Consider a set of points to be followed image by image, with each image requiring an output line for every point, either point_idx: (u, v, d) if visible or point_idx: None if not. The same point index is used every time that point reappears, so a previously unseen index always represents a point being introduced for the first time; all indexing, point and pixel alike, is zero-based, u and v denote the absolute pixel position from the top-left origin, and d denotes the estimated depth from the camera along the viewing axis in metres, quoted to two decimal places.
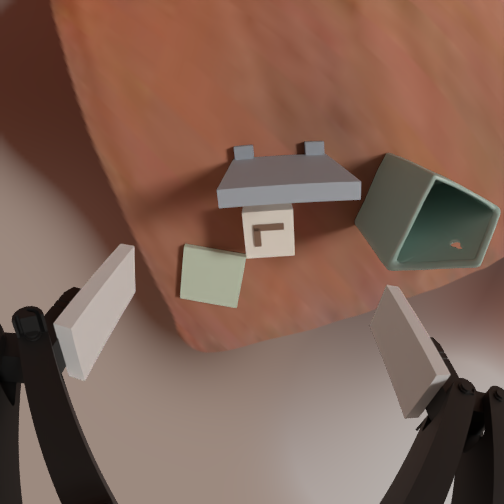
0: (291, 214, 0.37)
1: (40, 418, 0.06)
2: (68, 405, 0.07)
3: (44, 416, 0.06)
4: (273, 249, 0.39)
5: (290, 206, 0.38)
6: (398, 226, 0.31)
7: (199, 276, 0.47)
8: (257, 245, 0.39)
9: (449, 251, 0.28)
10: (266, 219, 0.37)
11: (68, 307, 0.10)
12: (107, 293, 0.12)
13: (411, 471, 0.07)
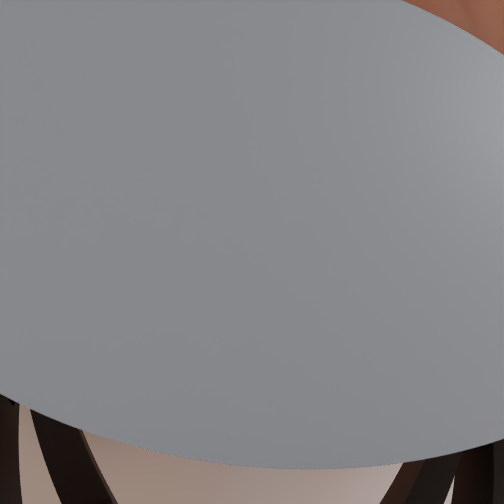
0: None
1: (40, 418, 0.06)
2: None
3: (44, 416, 0.06)
4: None
5: None
6: None
7: None
8: None
9: None
10: None
11: None
12: None
13: (411, 471, 0.07)
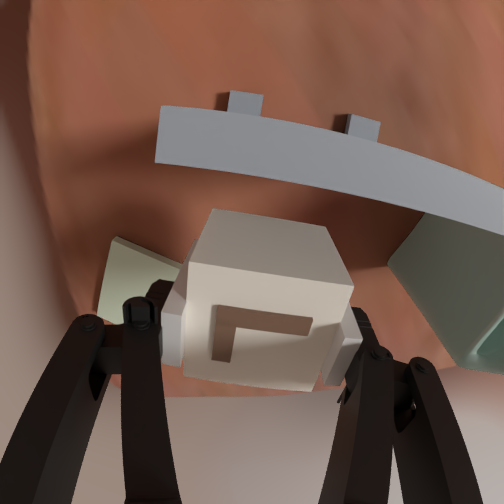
0: (344, 299, 0.11)
1: (130, 405, 0.07)
2: (163, 399, 0.08)
3: (134, 404, 0.07)
4: (259, 372, 0.13)
5: (342, 270, 0.12)
6: (491, 294, 0.15)
7: (128, 292, 0.28)
8: (218, 357, 0.13)
9: None
10: (264, 297, 0.11)
11: (170, 296, 0.12)
12: None
13: (343, 453, 0.07)
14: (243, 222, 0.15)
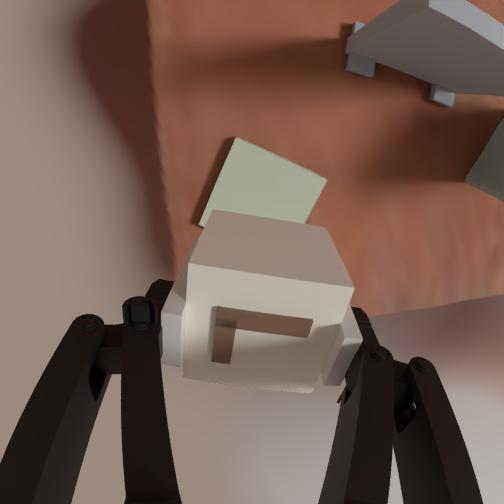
0: (344, 301, 0.11)
1: (130, 404, 0.07)
2: (163, 399, 0.08)
3: (135, 404, 0.07)
4: (259, 373, 0.13)
5: (342, 271, 0.12)
6: None
7: (243, 193, 0.29)
8: (218, 359, 0.13)
9: None
10: (263, 299, 0.11)
11: (170, 296, 0.12)
12: None
13: (343, 453, 0.07)
14: (243, 223, 0.15)
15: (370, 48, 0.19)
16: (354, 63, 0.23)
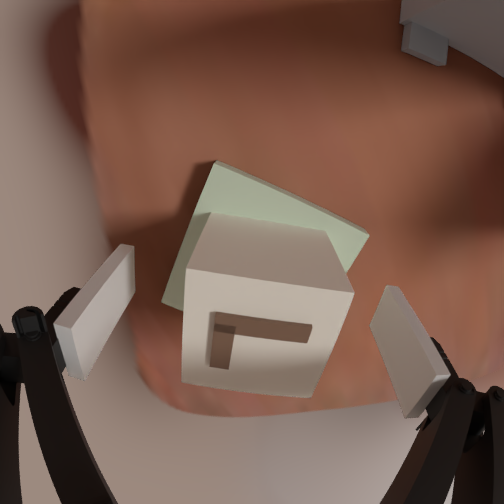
0: (344, 306, 0.11)
1: (40, 418, 0.06)
2: (68, 405, 0.07)
3: (44, 416, 0.06)
4: (258, 378, 0.13)
5: (342, 276, 0.12)
6: None
7: None
8: (217, 364, 0.12)
9: None
10: (262, 304, 0.11)
11: (68, 307, 0.10)
12: (107, 293, 0.12)
13: (411, 471, 0.07)
14: (242, 227, 0.15)
15: (456, 13, 0.08)
16: (418, 40, 0.12)
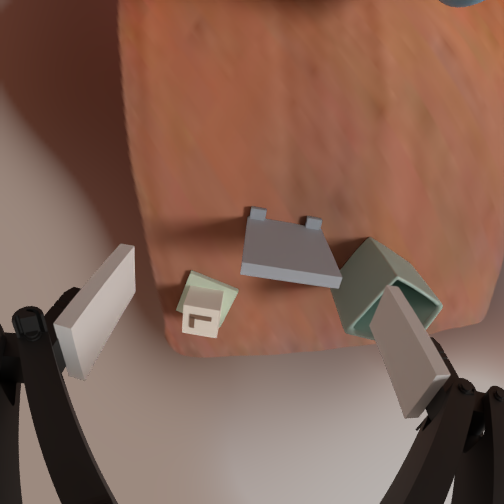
0: (218, 313, 0.50)
1: (40, 418, 0.06)
2: (68, 405, 0.07)
3: (44, 416, 0.06)
4: (201, 331, 0.52)
5: (219, 306, 0.51)
6: (361, 304, 0.43)
7: None
8: (191, 326, 0.52)
9: None
10: (200, 312, 0.50)
11: (68, 307, 0.10)
12: (107, 293, 0.12)
13: (411, 471, 0.07)
14: (198, 291, 0.54)
15: None
16: None
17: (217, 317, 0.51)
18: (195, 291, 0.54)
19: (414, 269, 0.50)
